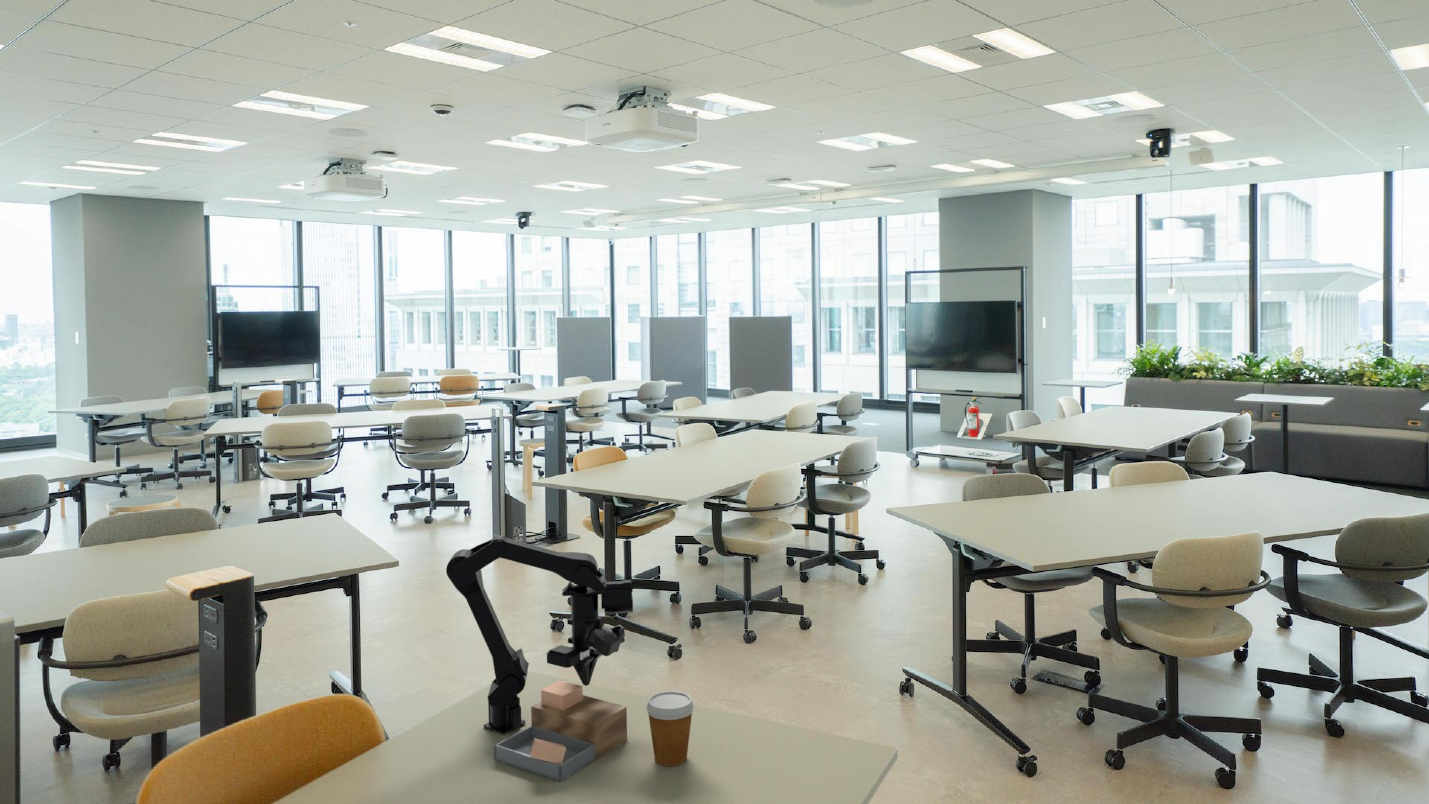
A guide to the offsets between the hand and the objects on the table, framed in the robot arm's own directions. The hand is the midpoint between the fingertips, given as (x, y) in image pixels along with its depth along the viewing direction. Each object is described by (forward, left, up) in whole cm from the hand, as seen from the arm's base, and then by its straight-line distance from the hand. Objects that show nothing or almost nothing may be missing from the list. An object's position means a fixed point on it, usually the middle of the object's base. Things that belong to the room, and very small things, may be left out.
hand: (586, 684), depth 195 cm
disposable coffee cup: (+26, -5, -8) cm, 27 cm away
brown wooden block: (+5, -8, -8) cm, 12 cm away
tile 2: (+8, -20, -3) cm, 22 cm away
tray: (+5, -18, -8) cm, 20 cm away
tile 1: (0, -8, -1) cm, 8 cm away
